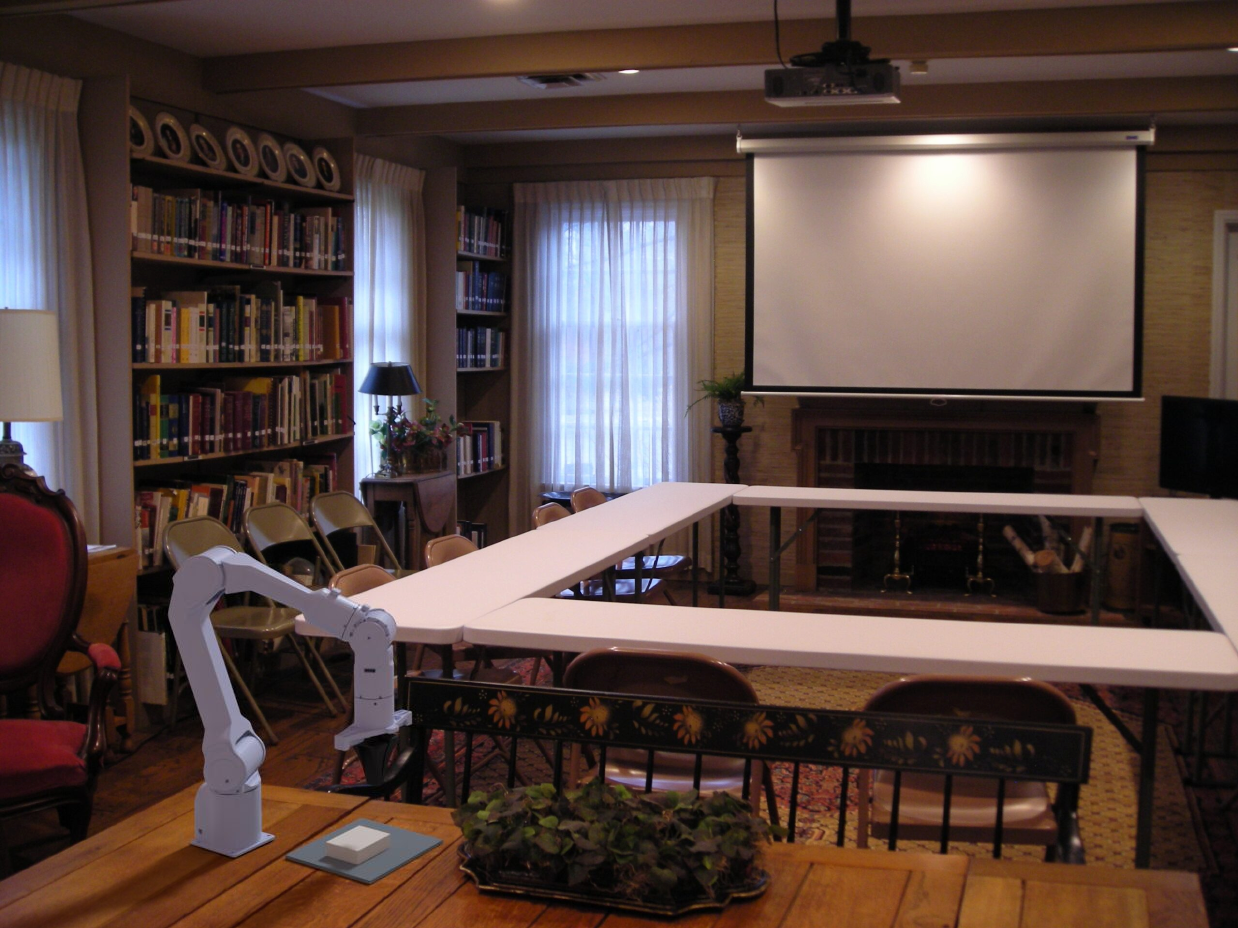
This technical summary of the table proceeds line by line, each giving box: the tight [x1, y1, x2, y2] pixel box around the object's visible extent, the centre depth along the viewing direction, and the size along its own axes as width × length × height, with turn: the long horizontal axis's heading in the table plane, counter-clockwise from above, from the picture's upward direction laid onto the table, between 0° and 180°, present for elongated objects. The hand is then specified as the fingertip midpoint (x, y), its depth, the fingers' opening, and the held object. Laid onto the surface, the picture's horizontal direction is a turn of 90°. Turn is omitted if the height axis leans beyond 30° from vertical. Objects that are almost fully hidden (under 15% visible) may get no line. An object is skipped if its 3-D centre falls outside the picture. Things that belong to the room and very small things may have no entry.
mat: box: [285, 817, 444, 885], centre depth 171 cm, size 16×16×1 cm
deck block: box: [326, 825, 390, 865], centre depth 169 cm, size 6×2×7 cm
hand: (375, 783), depth 171 cm, fingers closed
